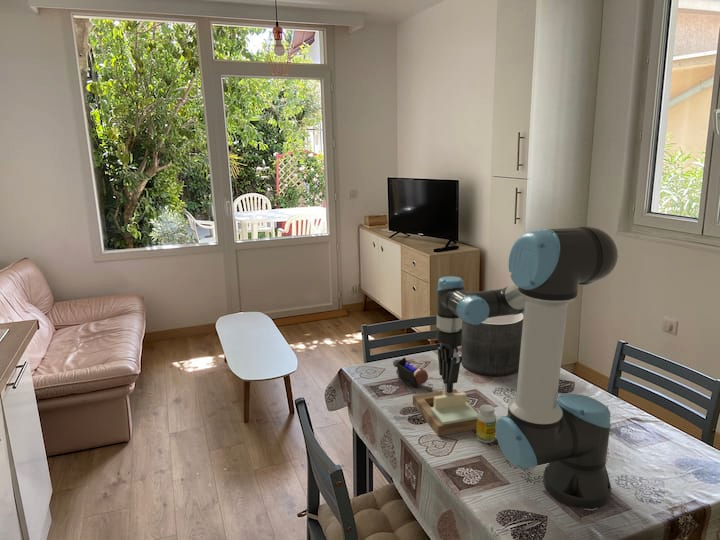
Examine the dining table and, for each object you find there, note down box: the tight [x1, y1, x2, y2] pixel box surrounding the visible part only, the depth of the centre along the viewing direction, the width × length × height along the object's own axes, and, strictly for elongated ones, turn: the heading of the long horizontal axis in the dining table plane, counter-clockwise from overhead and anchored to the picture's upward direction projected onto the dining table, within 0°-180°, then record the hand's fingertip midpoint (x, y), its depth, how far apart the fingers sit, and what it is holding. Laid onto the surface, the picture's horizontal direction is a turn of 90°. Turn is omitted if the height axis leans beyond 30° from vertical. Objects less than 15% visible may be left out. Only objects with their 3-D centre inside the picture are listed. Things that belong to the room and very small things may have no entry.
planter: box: [460, 313, 524, 377], centre depth 193 cm, size 22×22×20 cm
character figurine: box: [392, 357, 429, 389], centre depth 182 cm, size 8×7×15 cm
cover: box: [430, 391, 478, 425], centre depth 153 cm, size 9×12×4 cm
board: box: [412, 388, 480, 437], centre depth 159 cm, size 20×15×3 cm
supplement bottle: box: [475, 404, 497, 444], centre depth 145 cm, size 5×5×10 cm
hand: (447, 400), depth 158 cm, fingers closed
